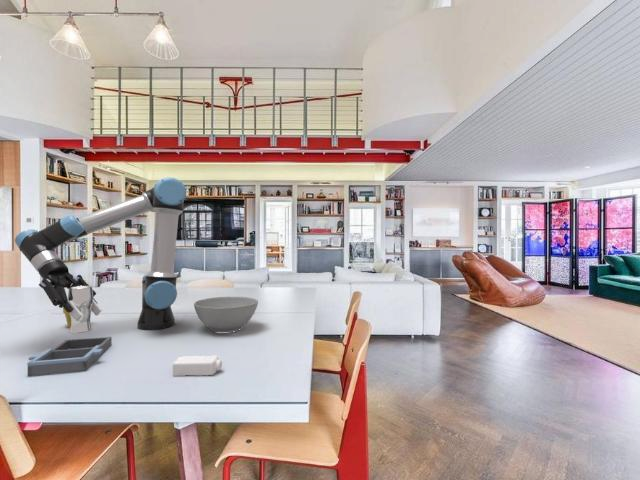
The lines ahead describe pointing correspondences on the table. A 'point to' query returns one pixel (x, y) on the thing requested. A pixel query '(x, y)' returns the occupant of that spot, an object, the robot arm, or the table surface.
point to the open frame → (68, 356)
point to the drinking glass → (81, 307)
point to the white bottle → (196, 365)
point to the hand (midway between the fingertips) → (89, 315)
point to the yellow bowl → (67, 318)
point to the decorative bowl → (225, 312)
